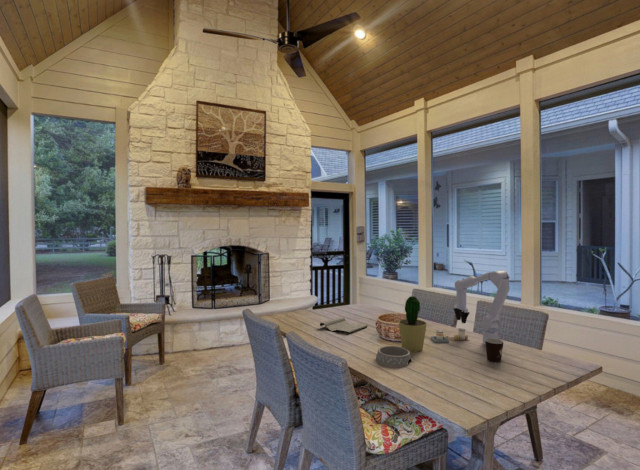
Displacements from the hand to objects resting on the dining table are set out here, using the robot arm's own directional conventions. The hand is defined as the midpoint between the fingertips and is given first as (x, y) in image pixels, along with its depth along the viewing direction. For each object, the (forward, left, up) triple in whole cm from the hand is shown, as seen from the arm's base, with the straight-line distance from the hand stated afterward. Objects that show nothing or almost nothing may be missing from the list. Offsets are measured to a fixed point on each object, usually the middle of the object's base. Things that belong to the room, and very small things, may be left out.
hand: (461, 321), depth 233 cm
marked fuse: (-8, +16, -9) cm, 21 cm away
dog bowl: (-37, +51, -10) cm, 64 cm away
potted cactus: (-19, +36, -10) cm, 42 cm away
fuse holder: (-6, +5, -10) cm, 13 cm away
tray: (-8, +16, -10) cm, 21 cm away
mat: (+24, +70, -11) cm, 75 cm away
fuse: (-6, +2, -9) cm, 11 cm away
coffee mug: (-39, -2, -10) cm, 40 cm away
